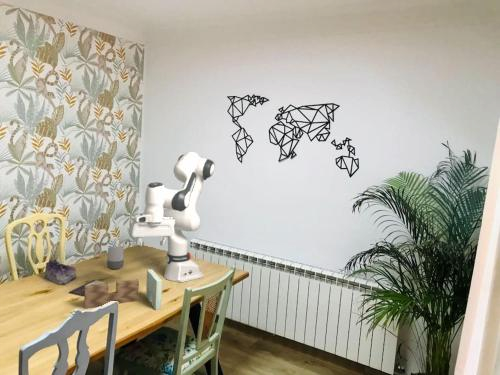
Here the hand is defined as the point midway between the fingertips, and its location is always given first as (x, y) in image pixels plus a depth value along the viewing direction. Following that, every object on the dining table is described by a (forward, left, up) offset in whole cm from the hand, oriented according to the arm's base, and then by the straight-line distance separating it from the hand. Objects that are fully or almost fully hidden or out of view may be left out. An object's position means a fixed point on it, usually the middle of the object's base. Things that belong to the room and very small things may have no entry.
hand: (152, 245), depth 180 cm
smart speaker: (+6, -52, -29) cm, 59 cm away
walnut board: (+17, -5, -28) cm, 33 cm away
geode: (+37, -45, -29) cm, 64 cm away
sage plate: (-1, +1, -28) cm, 28 cm away
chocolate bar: (+24, -27, -29) cm, 46 cm away
